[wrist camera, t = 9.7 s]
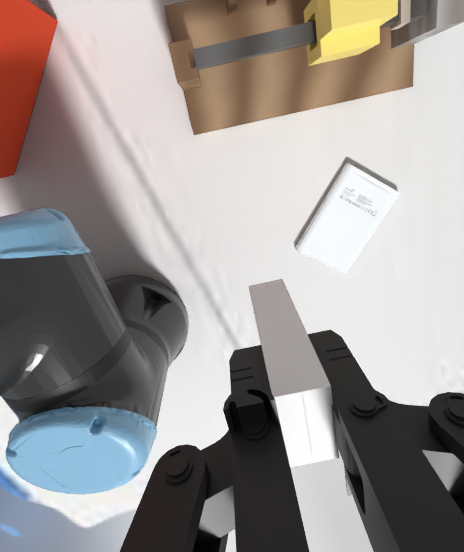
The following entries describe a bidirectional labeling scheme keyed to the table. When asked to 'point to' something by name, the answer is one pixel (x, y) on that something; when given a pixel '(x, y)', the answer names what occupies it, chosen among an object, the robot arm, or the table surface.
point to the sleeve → (346, 27)
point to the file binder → (20, 72)
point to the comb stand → (285, 58)
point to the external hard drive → (346, 218)
